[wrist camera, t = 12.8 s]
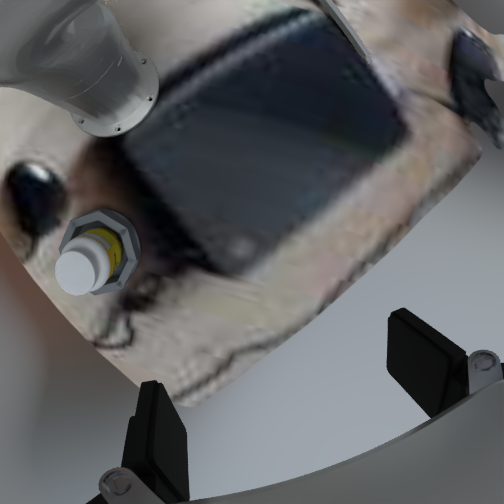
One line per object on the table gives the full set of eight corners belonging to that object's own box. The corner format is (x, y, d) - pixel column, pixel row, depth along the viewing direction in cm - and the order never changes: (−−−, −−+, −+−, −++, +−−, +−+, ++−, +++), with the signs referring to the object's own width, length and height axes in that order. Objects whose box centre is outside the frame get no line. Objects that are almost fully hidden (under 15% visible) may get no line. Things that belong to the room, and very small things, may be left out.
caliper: (279, -25, 31) (290, -46, 25) (283, -27, 31) (295, -48, 25) (367, 65, 37) (389, 53, 31) (371, 62, 37) (393, 50, 31)
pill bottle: (111, 279, 38) (85, 314, 27) (76, 253, 36) (40, 280, 26) (134, 242, 37) (112, 268, 27) (97, 215, 36) (63, 231, 25)
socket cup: (62, 221, 35) (50, 225, 32) (129, 199, 37) (122, 202, 33) (84, 291, 38) (76, 301, 35) (150, 274, 40) (145, 284, 36)
